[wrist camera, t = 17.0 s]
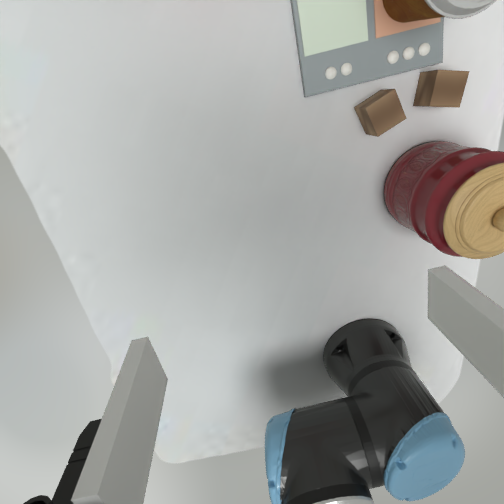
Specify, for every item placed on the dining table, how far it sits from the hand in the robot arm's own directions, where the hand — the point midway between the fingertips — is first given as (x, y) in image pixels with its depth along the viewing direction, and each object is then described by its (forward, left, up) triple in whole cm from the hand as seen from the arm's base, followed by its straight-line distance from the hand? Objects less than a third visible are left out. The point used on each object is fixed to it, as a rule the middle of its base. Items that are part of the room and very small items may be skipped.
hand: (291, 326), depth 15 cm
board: (+15, -19, -35) cm, 42 cm away
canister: (-8, -26, -35) cm, 44 cm away
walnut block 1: (+4, -19, -35) cm, 40 cm away
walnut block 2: (+5, -27, -35) cm, 44 cm away
